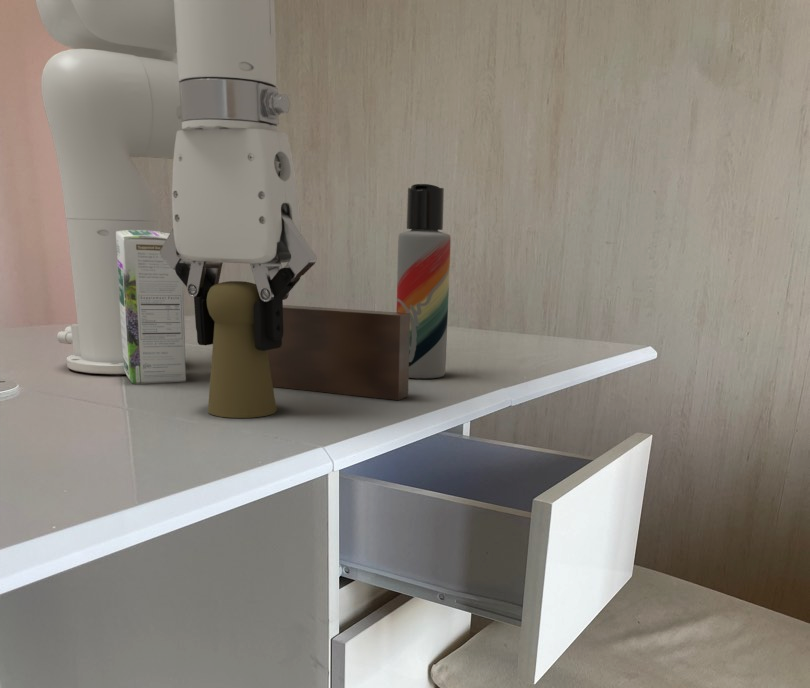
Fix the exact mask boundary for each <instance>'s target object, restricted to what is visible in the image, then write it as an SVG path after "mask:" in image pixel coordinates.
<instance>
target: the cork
mask: <svg viewBox="0 0 810 688" xmlns="http://www.w3.org/2000/svg"><path fill="white" fill-rule="evenodd" d="M255 301H260V296H259V293H258V290H257V286H256V283H255V282H254V283H253V282H250V281H241V280H228V281H223V282H219V283H218V284H215V285H213V286H212V287H211V288H210V290H209V292H208V294H207V308H208V311H209V314H210V316H211V317H212V319H213V320H214V322H215V323H214V336H213V344H212V350H211V354H212V355H211V365H210V377H209V391H208V393H209V394H208V402H207V403H208V404H207V405H208V406H207V413H208V414H210V415H211V416H216V417H220V418H229V419H230V418H232V419H248V418H249V419H252V418H262V417H266V416H270V415H274V414H275V413H277V411H278V410H277V404H276V396H275V391H274V387H273V384H272V378H271V372H270V365H269V359H268V353H267V350H266V351H261V350H257V349H256V347H255V332H254V303H255Z"/></svg>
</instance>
